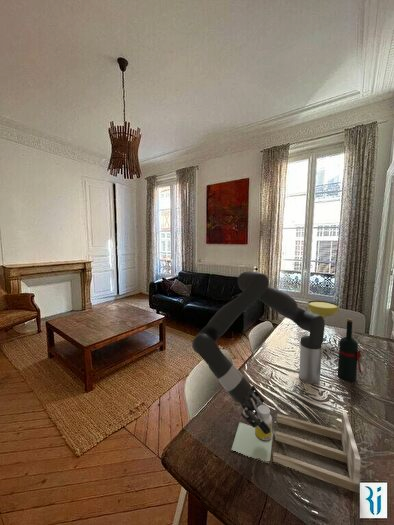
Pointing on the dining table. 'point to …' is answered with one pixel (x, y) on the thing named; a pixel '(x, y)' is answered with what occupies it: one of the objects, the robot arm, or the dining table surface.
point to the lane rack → (322, 451)
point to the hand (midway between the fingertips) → (269, 424)
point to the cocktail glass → (323, 308)
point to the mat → (251, 443)
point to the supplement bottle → (267, 418)
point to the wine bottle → (348, 356)
